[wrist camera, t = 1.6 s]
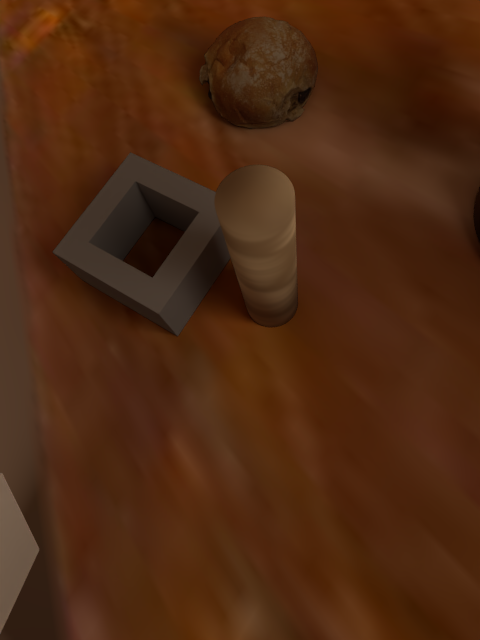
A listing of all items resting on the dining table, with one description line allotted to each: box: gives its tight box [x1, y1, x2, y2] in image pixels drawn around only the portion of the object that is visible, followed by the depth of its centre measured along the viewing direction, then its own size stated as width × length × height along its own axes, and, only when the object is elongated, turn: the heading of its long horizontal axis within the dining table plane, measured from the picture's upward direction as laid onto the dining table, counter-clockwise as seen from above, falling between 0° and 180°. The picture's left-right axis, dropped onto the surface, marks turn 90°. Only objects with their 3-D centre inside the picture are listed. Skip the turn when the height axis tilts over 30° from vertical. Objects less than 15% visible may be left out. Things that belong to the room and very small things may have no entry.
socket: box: [53, 152, 231, 336], centre depth 36 cm, size 10×10×5 cm
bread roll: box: [199, 17, 318, 129], centre depth 41 cm, size 10×10×8 cm
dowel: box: [214, 165, 298, 327], centre depth 29 cm, size 4×4×14 cm
